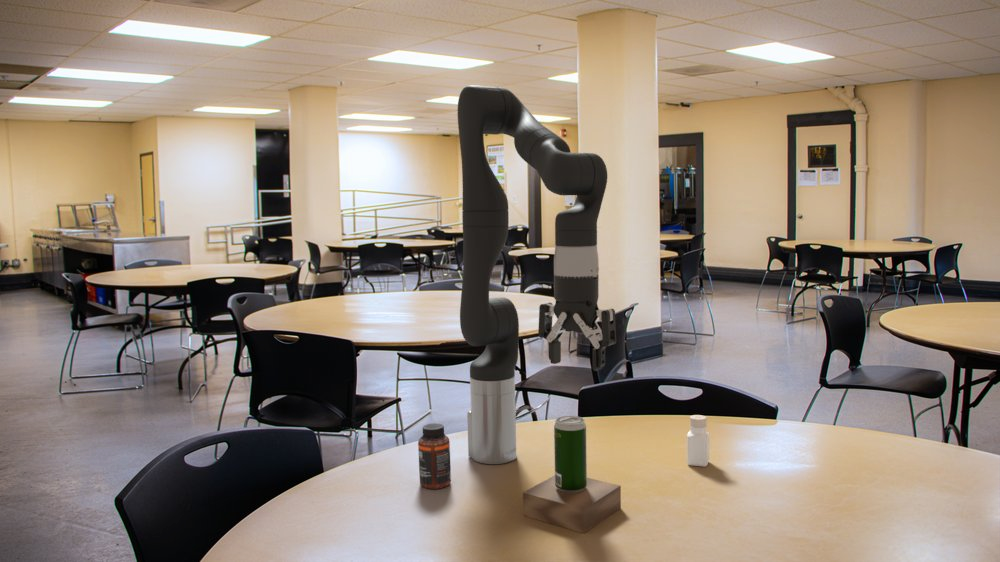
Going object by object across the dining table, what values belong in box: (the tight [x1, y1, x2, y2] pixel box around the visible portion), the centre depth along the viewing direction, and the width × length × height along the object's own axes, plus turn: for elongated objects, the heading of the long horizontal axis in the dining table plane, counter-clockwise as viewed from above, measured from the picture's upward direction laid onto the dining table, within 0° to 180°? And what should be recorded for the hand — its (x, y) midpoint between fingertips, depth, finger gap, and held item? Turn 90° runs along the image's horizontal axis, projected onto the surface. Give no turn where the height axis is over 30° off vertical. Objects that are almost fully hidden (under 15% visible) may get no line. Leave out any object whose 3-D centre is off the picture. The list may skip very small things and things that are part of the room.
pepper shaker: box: [686, 414, 710, 468], centre depth 149 cm, size 4×4×10 cm
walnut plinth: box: [522, 474, 622, 534], centre depth 128 cm, size 12×12×4 cm
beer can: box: [553, 415, 588, 494], centre depth 127 cm, size 5×5×12 cm
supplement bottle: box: [417, 422, 452, 490], centre depth 142 cm, size 6×6×11 cm
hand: (576, 366), depth 129 cm, fingers open, 8 cm apart
